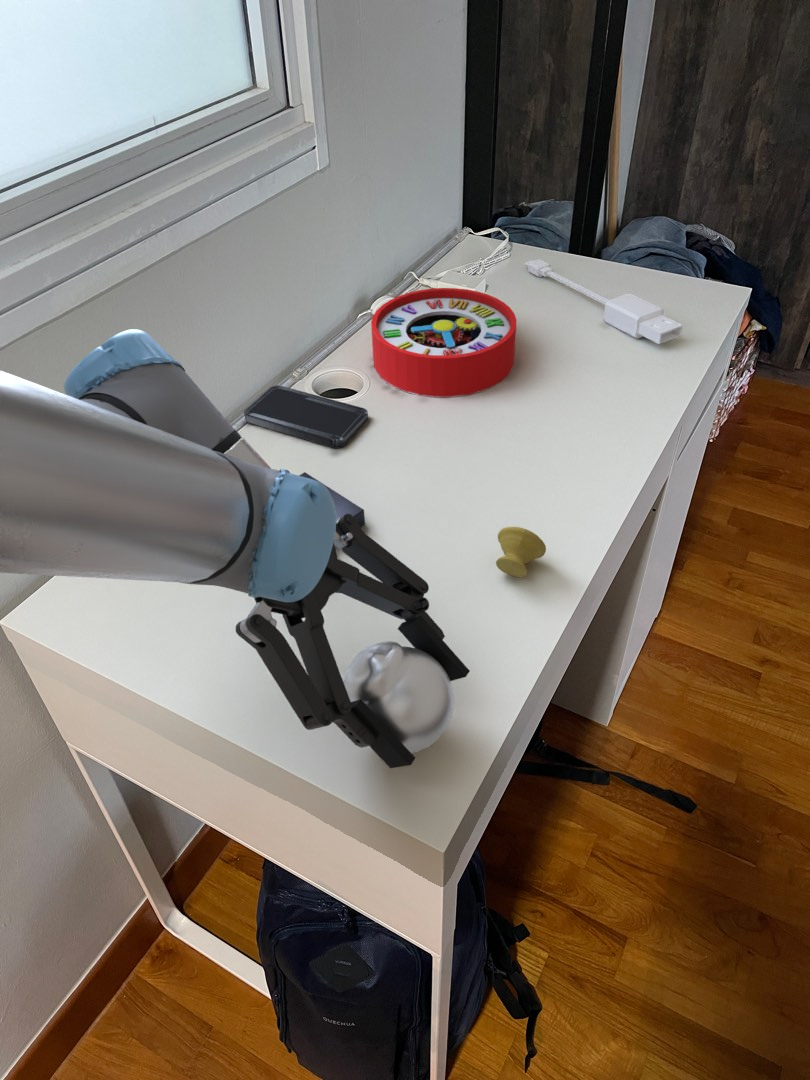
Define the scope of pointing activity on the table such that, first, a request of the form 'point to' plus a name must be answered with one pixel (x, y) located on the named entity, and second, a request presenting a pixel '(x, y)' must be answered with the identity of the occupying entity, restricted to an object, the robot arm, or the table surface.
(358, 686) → the ghost figurine
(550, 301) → the table surface
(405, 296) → the toy clock
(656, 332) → the charging cable
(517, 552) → the knob
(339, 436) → the phone
